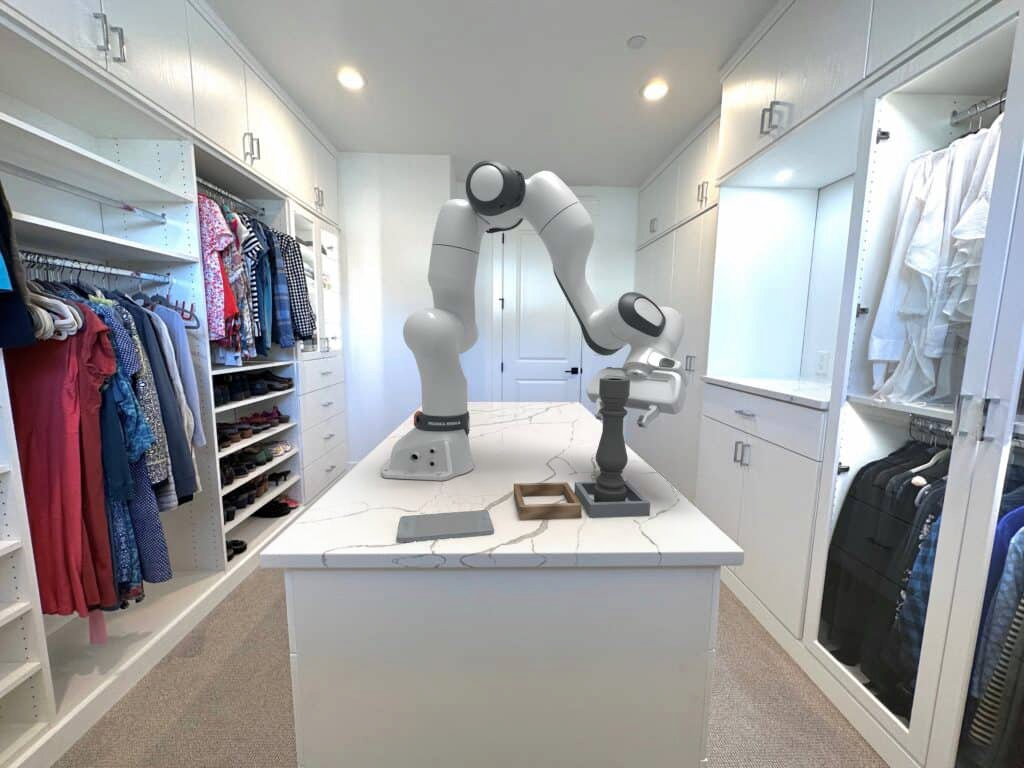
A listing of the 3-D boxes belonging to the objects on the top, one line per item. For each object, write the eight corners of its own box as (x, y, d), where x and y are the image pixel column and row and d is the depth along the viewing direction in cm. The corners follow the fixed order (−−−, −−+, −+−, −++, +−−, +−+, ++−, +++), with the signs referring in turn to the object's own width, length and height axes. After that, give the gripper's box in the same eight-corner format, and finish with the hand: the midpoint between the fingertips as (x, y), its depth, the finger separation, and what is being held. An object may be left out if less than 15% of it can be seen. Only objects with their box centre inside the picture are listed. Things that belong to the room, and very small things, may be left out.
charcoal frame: (589, 517, 73) (590, 504, 72) (574, 493, 84) (574, 481, 84) (649, 515, 74) (650, 502, 74) (626, 491, 85) (626, 480, 85)
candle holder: (626, 512, 75) (633, 381, 72) (593, 508, 77) (598, 380, 73) (624, 499, 81) (630, 378, 78) (593, 496, 83) (598, 377, 79)
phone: (494, 538, 66) (494, 530, 66) (395, 546, 63) (395, 539, 63) (488, 516, 74) (488, 509, 74) (400, 522, 71) (399, 516, 71)
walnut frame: (519, 520, 72) (519, 507, 71) (513, 495, 83) (513, 483, 82) (581, 518, 73) (581, 505, 72) (566, 493, 84) (567, 482, 84)
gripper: (597, 357, 90) (570, 405, 84) (689, 362, 76) (664, 420, 70) (606, 375, 94) (581, 422, 88) (696, 384, 79) (673, 440, 74)
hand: (619, 421), depth 79 cm, fingers open, 8 cm apart
